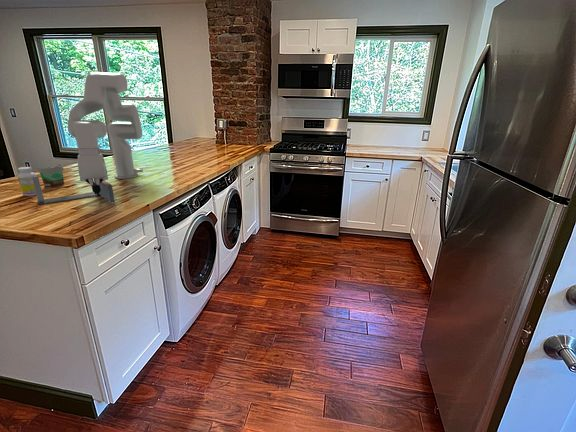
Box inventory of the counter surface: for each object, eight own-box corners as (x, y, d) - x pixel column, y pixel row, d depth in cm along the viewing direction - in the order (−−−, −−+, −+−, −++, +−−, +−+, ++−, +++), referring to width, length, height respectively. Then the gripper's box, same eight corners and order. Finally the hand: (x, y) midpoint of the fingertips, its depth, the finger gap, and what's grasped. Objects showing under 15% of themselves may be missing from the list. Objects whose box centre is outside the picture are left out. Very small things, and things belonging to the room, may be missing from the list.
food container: (52, 188, 155) (47, 169, 151) (42, 187, 156) (37, 168, 153) (72, 183, 166) (68, 164, 163) (63, 182, 167) (59, 164, 164)
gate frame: (107, 191, 154) (102, 167, 150) (110, 194, 150) (106, 170, 146) (37, 201, 136) (30, 175, 131) (39, 205, 132) (32, 178, 127)
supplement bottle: (29, 192, 148) (22, 166, 144) (44, 192, 149) (37, 166, 144) (19, 196, 142) (11, 169, 137) (34, 196, 142) (27, 169, 138)
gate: (95, 192, 149) (92, 174, 145) (99, 191, 150) (96, 173, 147) (110, 202, 134) (107, 183, 131) (115, 202, 136) (111, 182, 132)
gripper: (110, 150, 136) (116, 189, 142) (70, 151, 130) (79, 192, 136) (108, 152, 129) (115, 194, 135) (66, 153, 123) (75, 197, 130)
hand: (97, 193), depth 136 cm, fingers closed
